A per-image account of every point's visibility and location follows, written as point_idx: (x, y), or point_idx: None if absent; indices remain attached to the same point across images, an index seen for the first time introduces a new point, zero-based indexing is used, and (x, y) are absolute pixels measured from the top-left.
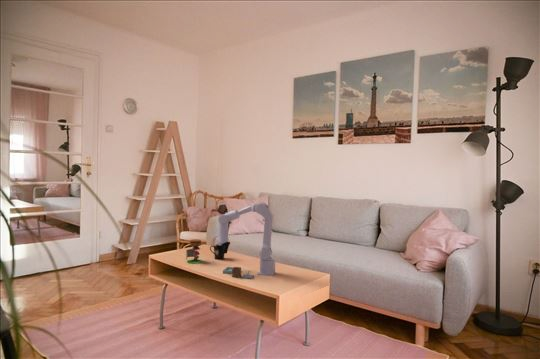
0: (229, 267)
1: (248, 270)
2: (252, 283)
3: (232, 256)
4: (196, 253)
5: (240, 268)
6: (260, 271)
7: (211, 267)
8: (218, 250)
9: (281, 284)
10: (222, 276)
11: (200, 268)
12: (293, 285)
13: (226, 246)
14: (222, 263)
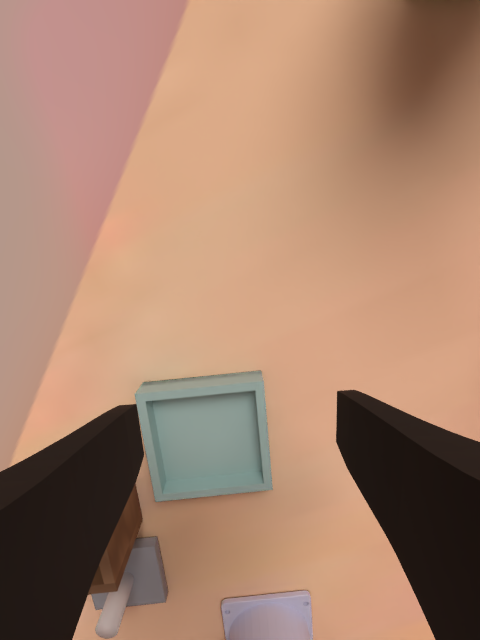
0: (256, 405)
1: (111, 631)
2: None
3: None
4: None
5: (101, 587)
6: (241, 628)
7: (284, 204)
8: (11, 476)
9: None
10: (60, 413)
11: (208, 105)
12: None
13: (428, 578)
14: (461, 245)
